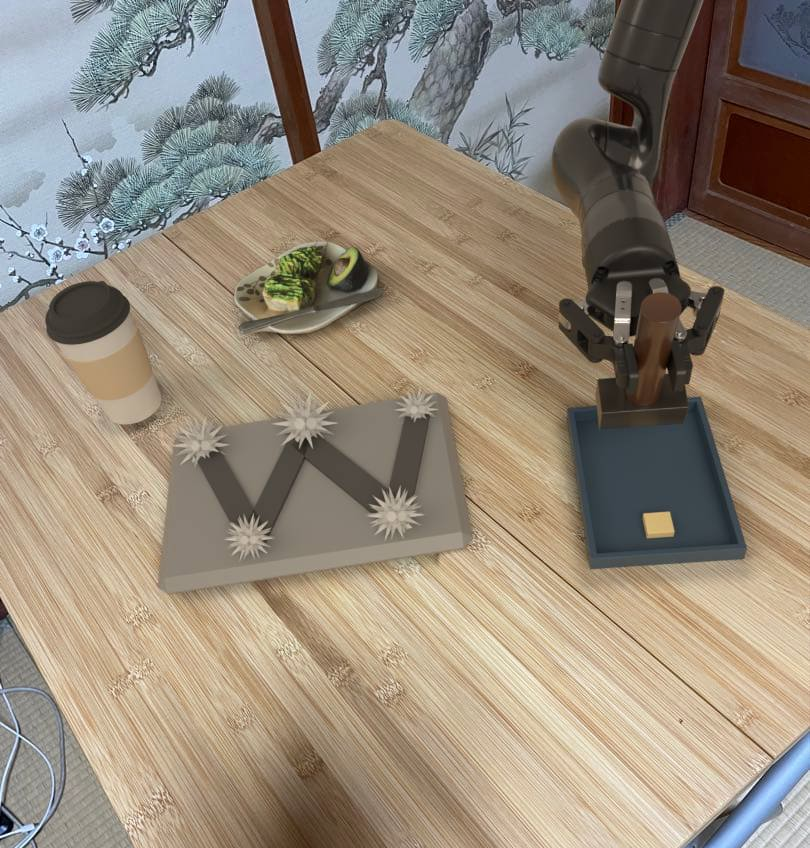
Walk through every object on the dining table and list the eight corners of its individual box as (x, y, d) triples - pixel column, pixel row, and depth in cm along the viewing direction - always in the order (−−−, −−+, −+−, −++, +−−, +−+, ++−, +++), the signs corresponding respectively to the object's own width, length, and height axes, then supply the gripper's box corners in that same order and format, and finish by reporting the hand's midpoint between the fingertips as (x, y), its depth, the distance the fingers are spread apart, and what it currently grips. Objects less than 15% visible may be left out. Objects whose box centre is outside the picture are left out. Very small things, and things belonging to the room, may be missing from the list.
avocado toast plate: (279, 371, 98) (269, 340, 95) (203, 310, 108) (191, 280, 104) (404, 293, 104) (399, 261, 101) (321, 242, 114) (314, 211, 110)
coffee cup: (111, 443, 94) (49, 336, 83) (85, 401, 99) (24, 295, 88) (183, 406, 97) (133, 298, 85) (154, 367, 102) (103, 260, 90)
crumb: (642, 518, 77) (643, 512, 76) (669, 516, 76) (669, 510, 76) (646, 539, 75) (647, 533, 75) (673, 537, 75) (674, 531, 74)
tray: (566, 425, 87) (567, 407, 85) (697, 414, 85) (701, 396, 83) (589, 575, 75) (590, 559, 73) (742, 565, 73) (747, 548, 71)
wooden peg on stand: (595, 395, 72) (608, 292, 61) (678, 389, 72) (708, 283, 60) (599, 429, 71) (613, 330, 59) (683, 424, 70) (715, 322, 58)
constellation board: (162, 604, 79) (133, 559, 74) (179, 445, 93) (156, 397, 87) (475, 555, 78) (470, 505, 72) (446, 401, 91) (440, 349, 86)
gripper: (546, 223, 71) (563, 352, 61) (715, 207, 70) (764, 337, 59) (546, 297, 77) (561, 427, 67) (702, 284, 76) (744, 415, 65)
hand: (656, 384), depth 63 cm, fingers closed on wooden peg on stand, 3 cm apart
